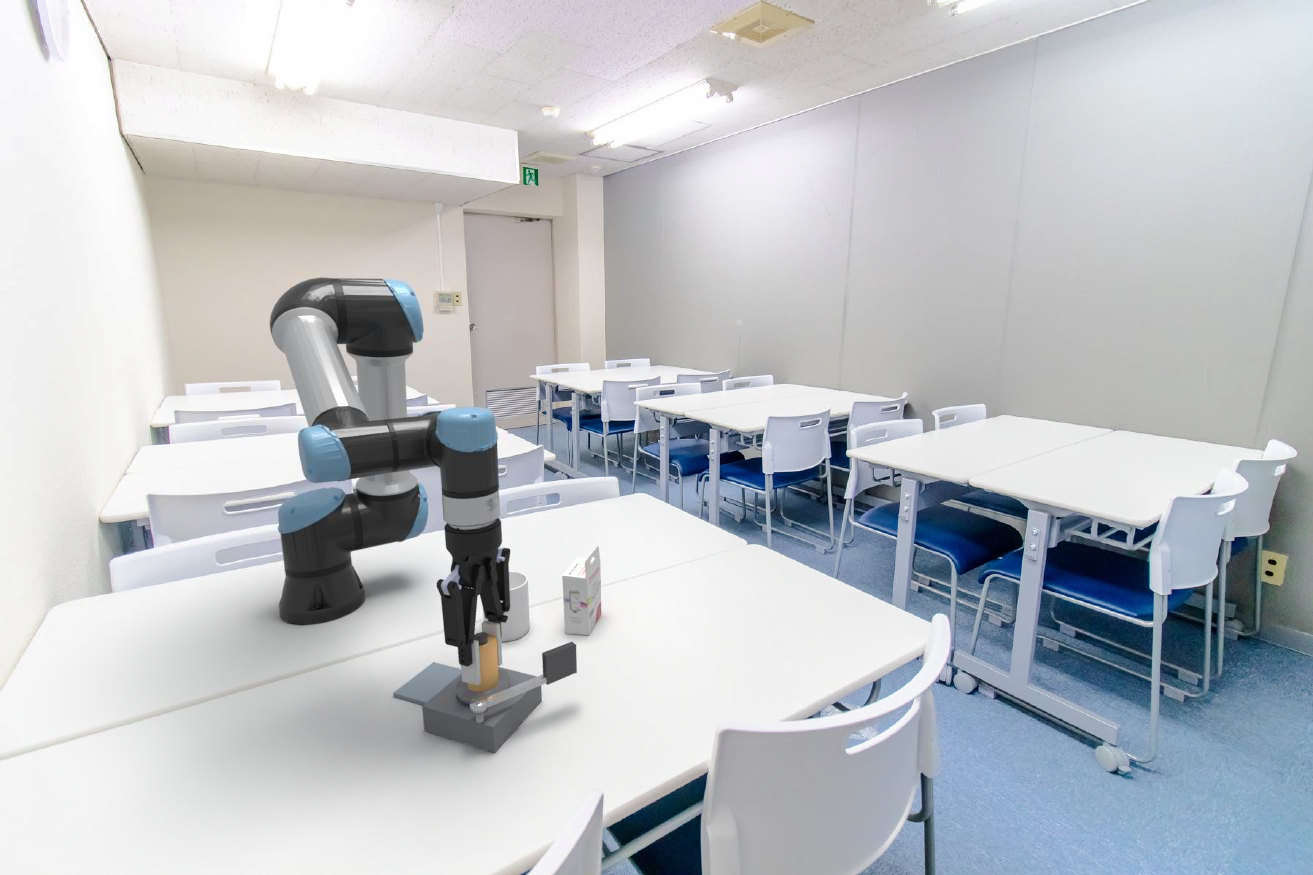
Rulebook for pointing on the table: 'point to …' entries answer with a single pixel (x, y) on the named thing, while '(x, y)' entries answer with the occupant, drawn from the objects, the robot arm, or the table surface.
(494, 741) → the socket block
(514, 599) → the cup
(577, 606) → the ink cartridge box
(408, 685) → the mat
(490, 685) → the plug
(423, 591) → the table surface
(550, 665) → the grey lever
